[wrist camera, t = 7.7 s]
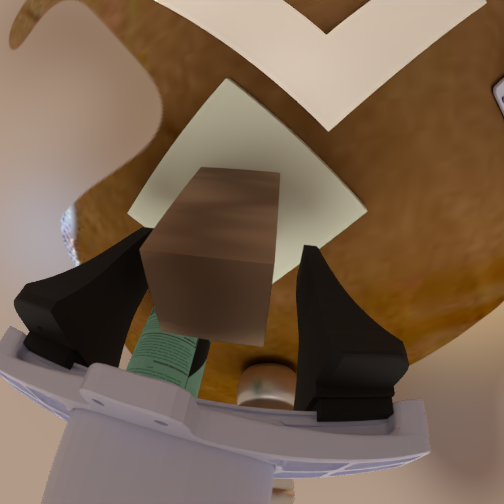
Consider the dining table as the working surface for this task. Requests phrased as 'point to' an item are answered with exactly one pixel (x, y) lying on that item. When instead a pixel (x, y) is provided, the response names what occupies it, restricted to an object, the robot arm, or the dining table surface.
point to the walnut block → (216, 256)
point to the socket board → (327, 44)
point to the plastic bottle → (270, 406)
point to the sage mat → (259, 159)
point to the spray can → (169, 356)
